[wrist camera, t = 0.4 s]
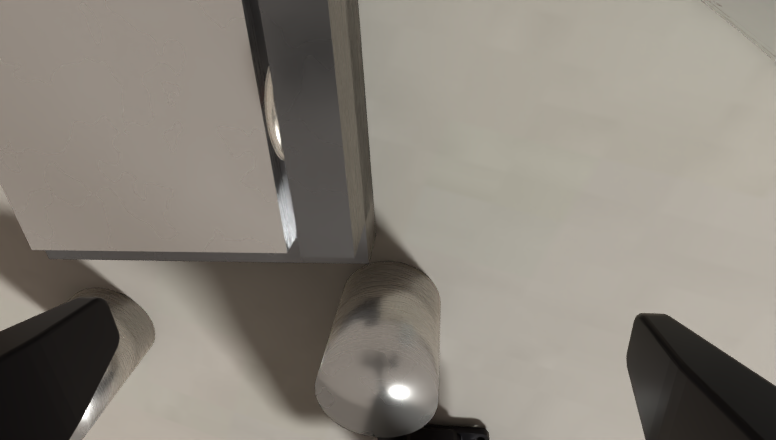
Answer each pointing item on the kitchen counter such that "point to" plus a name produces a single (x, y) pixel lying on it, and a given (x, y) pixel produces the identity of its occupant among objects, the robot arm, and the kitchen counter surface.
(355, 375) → the cylinder
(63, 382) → the robot arm
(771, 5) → the supplement box
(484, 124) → the kitchen counter surface
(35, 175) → the dial scale
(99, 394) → the cylinder
